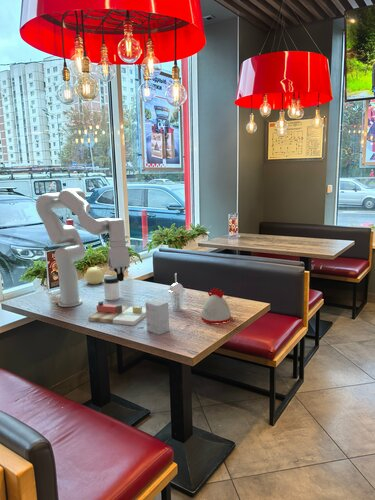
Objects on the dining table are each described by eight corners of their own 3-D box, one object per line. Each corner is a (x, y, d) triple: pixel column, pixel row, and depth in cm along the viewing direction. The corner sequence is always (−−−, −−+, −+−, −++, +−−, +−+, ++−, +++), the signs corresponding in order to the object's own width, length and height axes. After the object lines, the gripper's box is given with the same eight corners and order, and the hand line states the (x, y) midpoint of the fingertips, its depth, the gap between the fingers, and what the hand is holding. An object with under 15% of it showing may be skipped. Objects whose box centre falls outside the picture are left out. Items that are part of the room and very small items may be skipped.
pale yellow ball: (107, 280, 255) (106, 264, 253) (100, 285, 243) (99, 268, 241) (90, 280, 256) (89, 264, 254) (83, 285, 245) (82, 268, 243)
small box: (169, 330, 169) (168, 302, 166) (159, 335, 164) (157, 306, 162) (157, 326, 174) (155, 298, 172) (146, 330, 169) (144, 302, 167)
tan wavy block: (88, 320, 183) (87, 310, 182) (108, 308, 200) (107, 298, 199) (113, 323, 179) (112, 312, 178) (130, 310, 196) (130, 300, 195)
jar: (108, 301, 211) (106, 280, 209) (102, 297, 218) (100, 277, 216) (123, 298, 216) (121, 277, 214) (117, 294, 223) (115, 274, 220)
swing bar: (118, 310, 190) (117, 302, 189) (115, 312, 187) (114, 304, 186) (100, 309, 193) (99, 301, 192) (96, 311, 190) (96, 303, 189)
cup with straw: (187, 307, 198) (186, 269, 194) (182, 313, 189) (181, 273, 185) (171, 306, 200) (170, 268, 196) (166, 312, 191) (164, 273, 188)
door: (112, 323, 179) (112, 314, 179) (130, 310, 196) (129, 301, 195) (134, 325, 176) (133, 316, 175) (150, 311, 193) (149, 303, 192)
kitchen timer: (222, 326, 172) (221, 294, 169) (195, 321, 179) (194, 289, 176) (235, 316, 183) (235, 286, 180) (210, 311, 190) (209, 282, 188)
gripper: (127, 241, 196) (130, 276, 199) (100, 245, 187) (103, 282, 190) (135, 242, 190) (137, 279, 193) (107, 247, 181) (110, 285, 184)
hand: (120, 280), depth 192 cm, fingers closed
